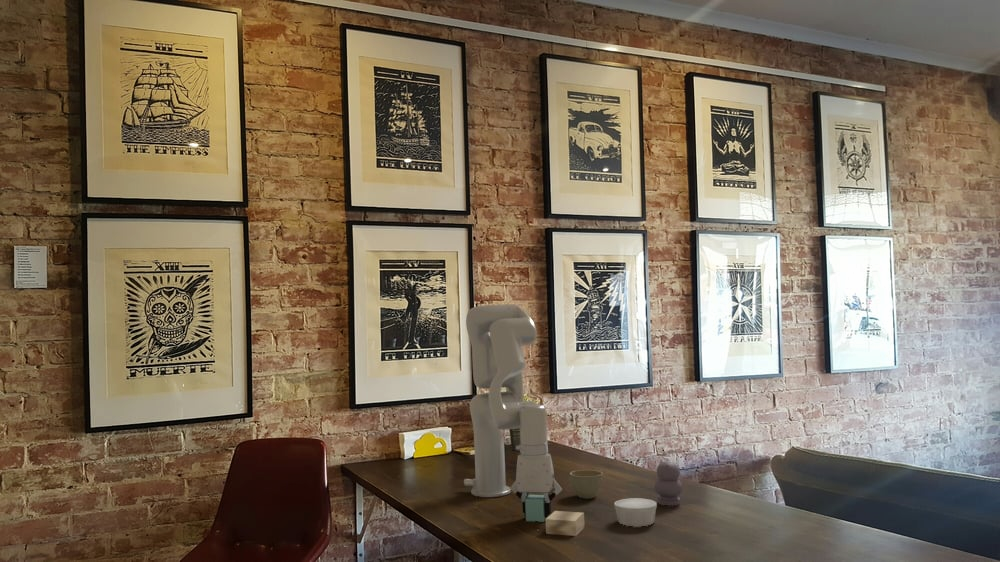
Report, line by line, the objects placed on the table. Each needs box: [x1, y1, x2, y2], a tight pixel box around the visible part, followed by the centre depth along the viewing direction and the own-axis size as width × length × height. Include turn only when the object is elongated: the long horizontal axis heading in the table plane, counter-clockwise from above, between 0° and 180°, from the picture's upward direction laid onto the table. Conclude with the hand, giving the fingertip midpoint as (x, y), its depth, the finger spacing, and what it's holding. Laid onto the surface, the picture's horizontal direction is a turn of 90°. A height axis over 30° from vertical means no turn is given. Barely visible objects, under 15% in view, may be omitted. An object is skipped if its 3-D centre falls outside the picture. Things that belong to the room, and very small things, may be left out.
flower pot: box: [569, 469, 604, 499], centre depth 227 cm, size 10×10×7 cm
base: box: [545, 510, 585, 537], centre depth 193 cm, size 8×8×4 cm
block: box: [525, 494, 546, 523], centre depth 205 cm, size 5×5×6 cm
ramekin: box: [613, 497, 658, 528], centre depth 197 cm, size 11×11×5 cm
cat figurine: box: [654, 459, 683, 507], centre depth 216 cm, size 8×8×12 cm
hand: (537, 515), depth 204 cm, fingers closed on block, 5 cm apart
